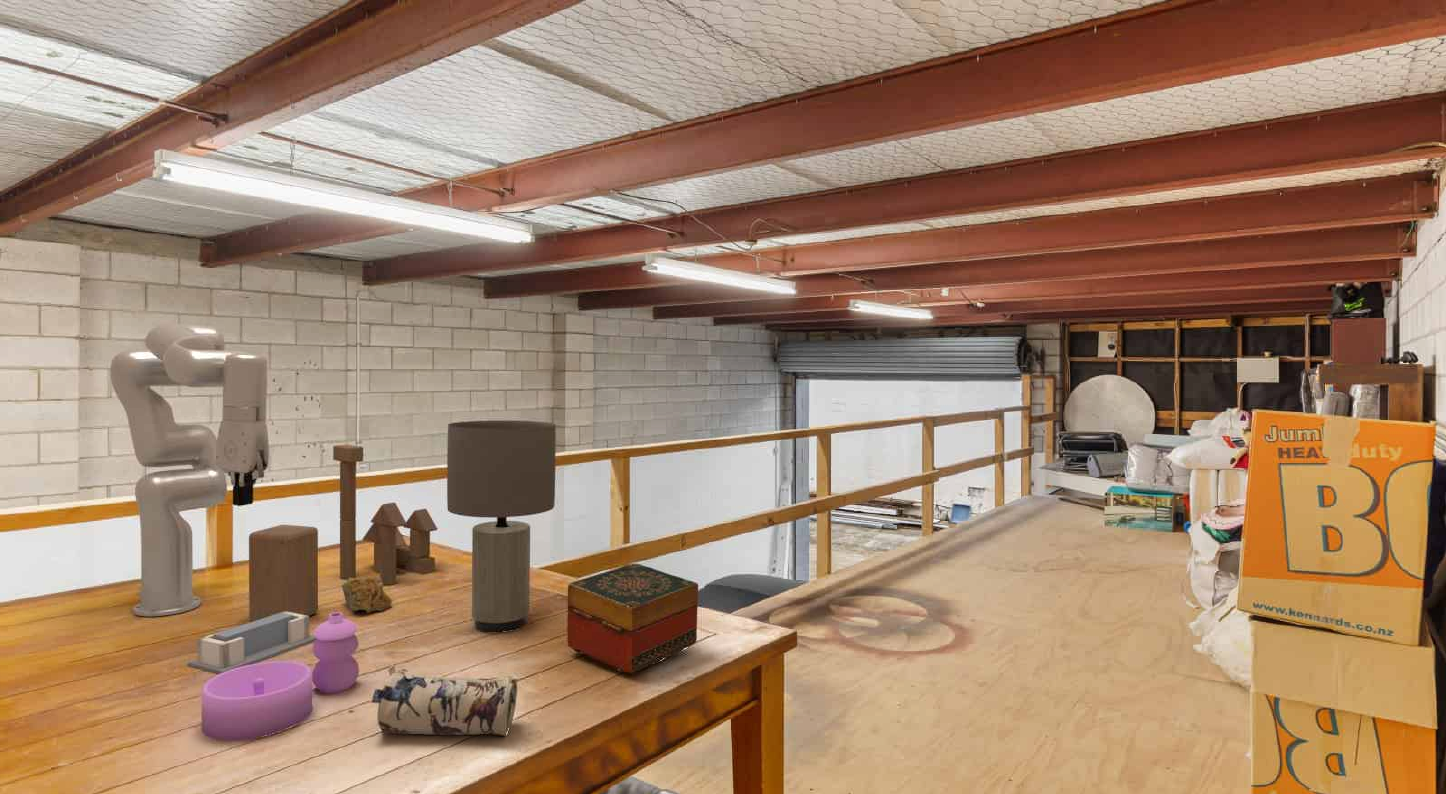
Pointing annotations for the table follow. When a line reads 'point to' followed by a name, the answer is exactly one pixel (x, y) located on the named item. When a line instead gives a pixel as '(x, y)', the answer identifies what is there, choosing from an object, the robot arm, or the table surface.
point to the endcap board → (231, 653)
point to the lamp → (500, 509)
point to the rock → (365, 594)
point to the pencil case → (445, 704)
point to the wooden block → (283, 571)
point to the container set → (279, 687)
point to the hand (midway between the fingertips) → (242, 504)
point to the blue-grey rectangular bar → (259, 633)
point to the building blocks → (380, 528)
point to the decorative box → (632, 616)
